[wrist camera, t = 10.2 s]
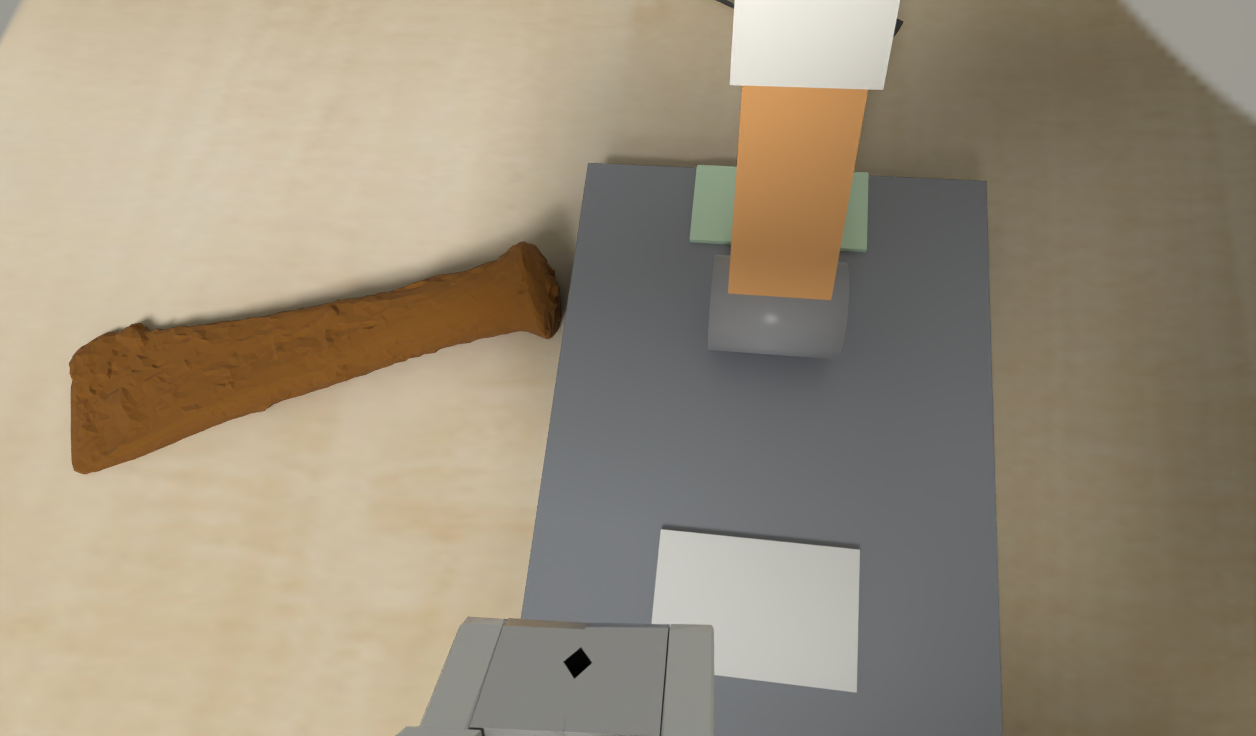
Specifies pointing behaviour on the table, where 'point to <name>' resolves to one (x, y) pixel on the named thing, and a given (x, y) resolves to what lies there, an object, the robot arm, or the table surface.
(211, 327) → the primitive tool
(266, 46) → the table surface
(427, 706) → the robot arm
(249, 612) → the table surface
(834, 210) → the lever
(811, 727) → the breaker base
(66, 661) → the table surface
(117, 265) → the table surface
